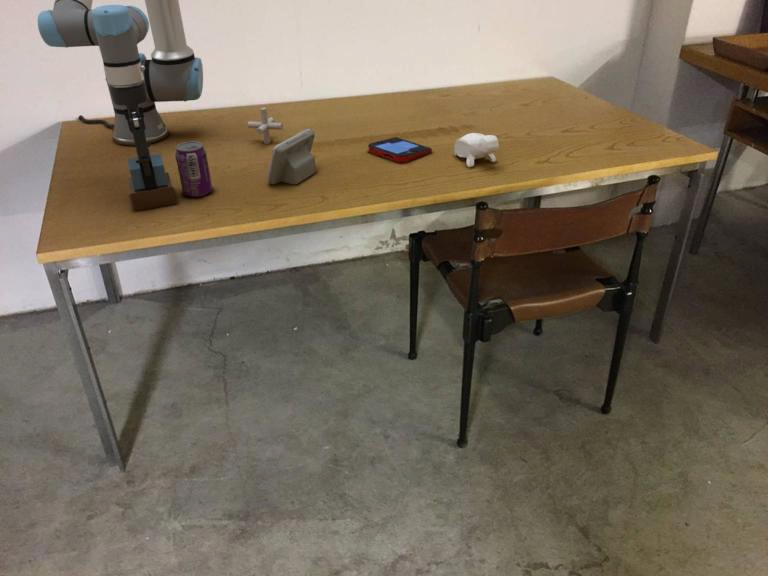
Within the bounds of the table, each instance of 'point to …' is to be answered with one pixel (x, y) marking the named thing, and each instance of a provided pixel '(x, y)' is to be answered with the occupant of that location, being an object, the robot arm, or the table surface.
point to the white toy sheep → (476, 147)
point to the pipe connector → (265, 125)
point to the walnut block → (152, 196)
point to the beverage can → (193, 168)
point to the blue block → (137, 174)
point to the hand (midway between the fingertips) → (149, 180)
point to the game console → (398, 149)
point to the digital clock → (292, 159)
